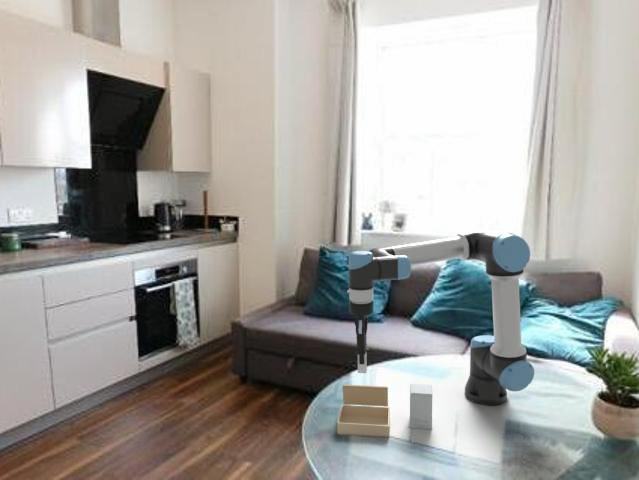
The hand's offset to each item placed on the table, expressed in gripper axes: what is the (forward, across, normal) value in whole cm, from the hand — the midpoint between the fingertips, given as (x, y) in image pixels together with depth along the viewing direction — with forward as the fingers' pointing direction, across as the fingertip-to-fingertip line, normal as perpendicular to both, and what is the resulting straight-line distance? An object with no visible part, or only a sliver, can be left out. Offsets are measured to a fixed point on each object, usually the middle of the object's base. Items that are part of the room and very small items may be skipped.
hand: (362, 371), depth 153 cm
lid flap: (+14, -11, 0) cm, 18 cm away
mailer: (+22, -6, 0) cm, 23 cm away
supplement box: (+23, -10, +19) cm, 31 cm away
